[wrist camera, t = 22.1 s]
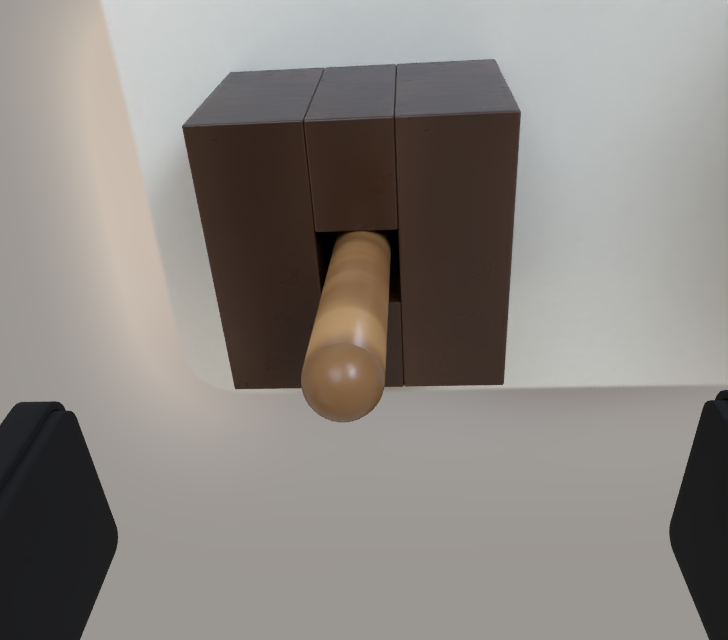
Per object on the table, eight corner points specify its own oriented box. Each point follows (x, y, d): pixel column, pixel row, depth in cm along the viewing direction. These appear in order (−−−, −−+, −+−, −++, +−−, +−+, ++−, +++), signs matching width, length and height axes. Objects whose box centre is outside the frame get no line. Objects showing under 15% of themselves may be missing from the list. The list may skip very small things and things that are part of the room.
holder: (265, 298, 33) (234, 389, 27) (229, 72, 27) (181, 125, 21) (485, 292, 32) (503, 385, 26) (495, 58, 27) (521, 110, 21)
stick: (337, 202, 30) (278, 407, 16) (366, 166, 29) (330, 348, 15) (373, 229, 31) (347, 453, 16) (402, 195, 30) (401, 398, 15)
